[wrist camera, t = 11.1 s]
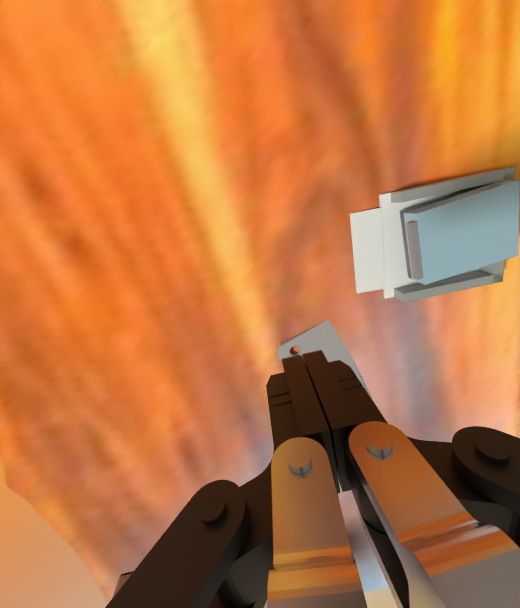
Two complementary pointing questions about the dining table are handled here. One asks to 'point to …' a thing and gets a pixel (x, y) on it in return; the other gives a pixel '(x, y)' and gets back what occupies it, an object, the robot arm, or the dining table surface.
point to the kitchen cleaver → (320, 346)
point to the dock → (390, 247)
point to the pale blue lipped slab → (461, 231)
